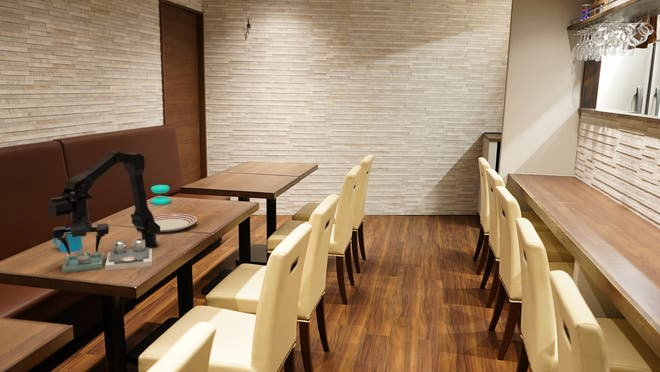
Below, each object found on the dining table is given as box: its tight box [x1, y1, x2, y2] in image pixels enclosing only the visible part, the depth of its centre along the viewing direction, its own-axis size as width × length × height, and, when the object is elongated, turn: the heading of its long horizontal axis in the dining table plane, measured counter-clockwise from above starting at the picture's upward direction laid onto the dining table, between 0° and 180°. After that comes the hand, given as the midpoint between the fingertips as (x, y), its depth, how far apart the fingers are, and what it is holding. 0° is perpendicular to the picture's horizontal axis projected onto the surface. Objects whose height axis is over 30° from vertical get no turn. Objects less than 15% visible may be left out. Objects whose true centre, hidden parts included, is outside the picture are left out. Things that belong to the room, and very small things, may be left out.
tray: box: [61, 252, 106, 273], centre depth 199 cm, size 13×13×2 cm
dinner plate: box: [153, 213, 198, 233], centre depth 253 cm, size 27×27×3 cm
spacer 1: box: [77, 250, 92, 265], centre depth 199 cm, size 4×4×4 cm
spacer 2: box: [113, 239, 127, 254], centre depth 206 cm, size 4×4×4 cm
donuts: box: [150, 184, 171, 206], centre depth 301 cm, size 10×10×10 cm
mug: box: [52, 227, 83, 254], centre depth 218 cm, size 12×8×8 cm
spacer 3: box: [132, 238, 146, 252], centre depth 208 cm, size 4×4×4 cm
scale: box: [104, 247, 153, 272], centre depth 203 cm, size 17×16×4 cm
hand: (83, 252), depth 199 cm, fingers open, 9 cm apart
